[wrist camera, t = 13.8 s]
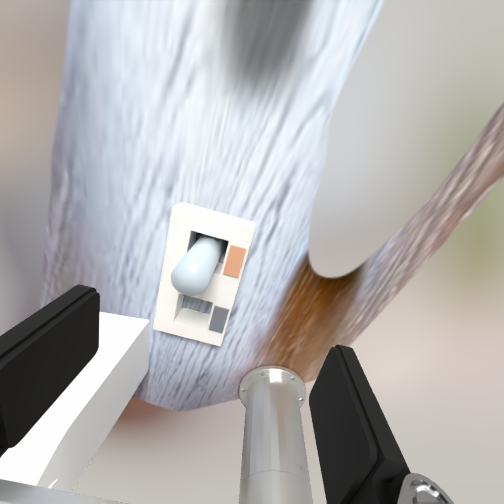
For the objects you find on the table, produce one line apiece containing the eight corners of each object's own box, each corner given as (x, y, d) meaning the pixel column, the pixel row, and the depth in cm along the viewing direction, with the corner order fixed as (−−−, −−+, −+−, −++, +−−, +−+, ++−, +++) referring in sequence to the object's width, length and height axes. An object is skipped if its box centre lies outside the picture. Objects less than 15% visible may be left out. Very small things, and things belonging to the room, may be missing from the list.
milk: (149, 320, 43) (-1, 528, 19) (148, 369, 47) (25, 592, 23) (81, 308, 43) (-158, 503, 19) (86, 359, 47) (-104, 572, 23)
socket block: (224, 330, 43) (220, 347, 39) (162, 314, 42) (152, 330, 38) (255, 222, 36) (254, 230, 32) (182, 201, 35) (171, 207, 31)
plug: (229, 251, 38) (213, 290, 27) (205, 259, 38) (180, 300, 27) (218, 227, 36) (198, 257, 25) (194, 235, 37) (164, 269, 26)
